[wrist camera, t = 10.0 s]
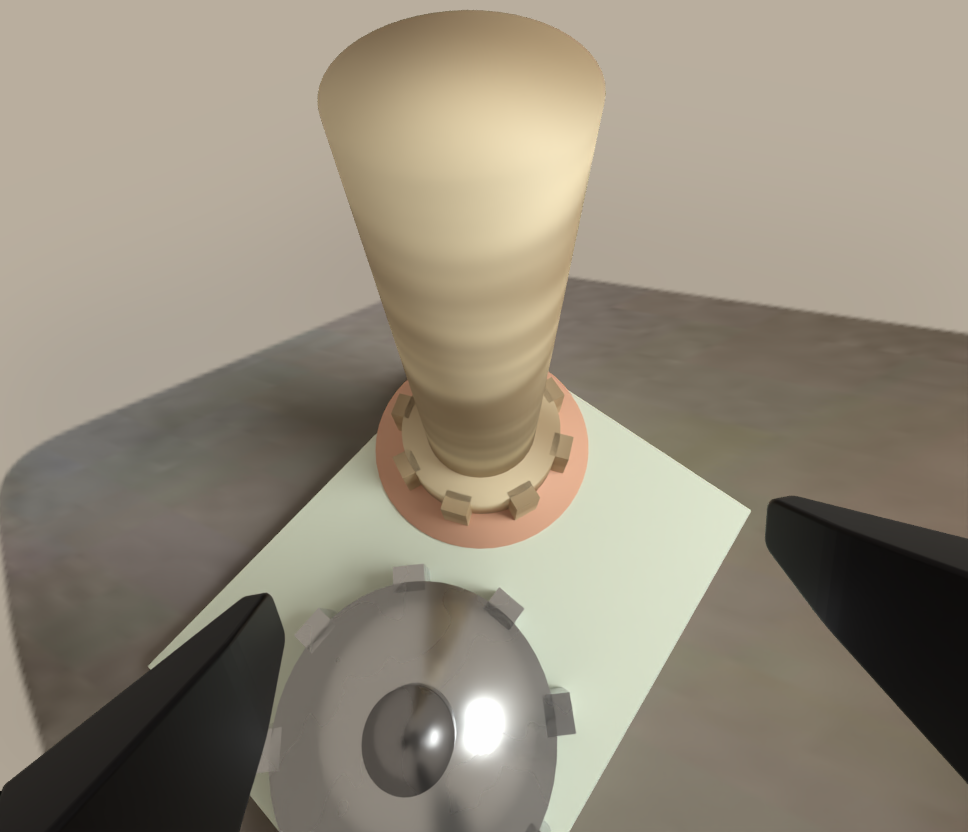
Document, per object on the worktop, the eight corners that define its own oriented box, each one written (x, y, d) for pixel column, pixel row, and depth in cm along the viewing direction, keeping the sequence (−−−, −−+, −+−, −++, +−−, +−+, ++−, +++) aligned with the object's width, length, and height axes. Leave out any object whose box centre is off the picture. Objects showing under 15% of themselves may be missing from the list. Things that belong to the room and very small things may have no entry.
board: (452, 1009, 12) (447, 1047, 11) (159, 649, 16) (134, 651, 15) (738, 514, 18) (754, 505, 17) (469, 335, 22) (468, 318, 21)
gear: (433, 1025, 11) (417, 1121, 9) (212, 748, 14) (159, 769, 12) (624, 698, 14) (648, 710, 12) (413, 518, 17) (401, 500, 15)
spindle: (546, 548, 16) (681, 323, 5) (371, 498, 17) (110, 203, 5) (581, 389, 19) (723, -6, 7) (429, 353, 20) (338, -49, 8)
